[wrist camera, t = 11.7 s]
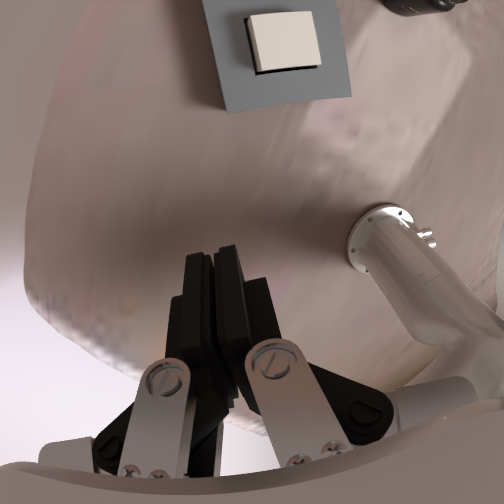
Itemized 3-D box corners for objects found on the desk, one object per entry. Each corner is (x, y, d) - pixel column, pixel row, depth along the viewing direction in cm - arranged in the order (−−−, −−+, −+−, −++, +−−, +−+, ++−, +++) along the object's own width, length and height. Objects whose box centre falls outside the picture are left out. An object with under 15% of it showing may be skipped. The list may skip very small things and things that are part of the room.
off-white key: (297, 20, 24) (311, 11, 20) (306, 66, 28) (321, 64, 24) (245, 25, 24) (250, 15, 20) (255, 72, 28) (262, 70, 24)
